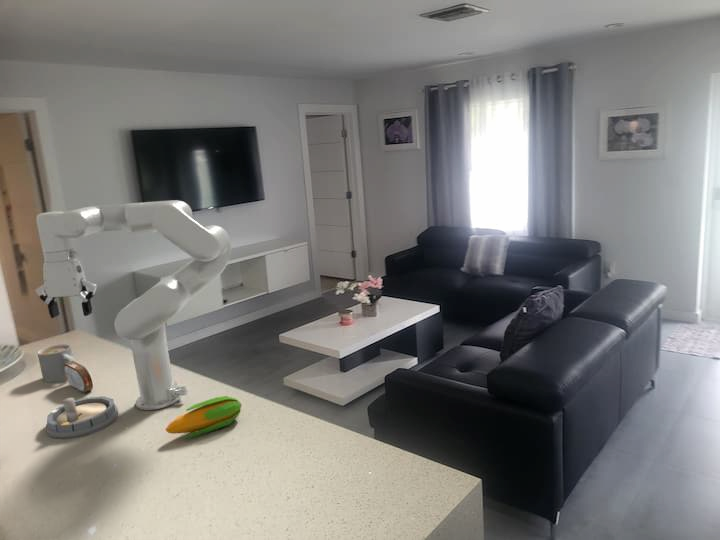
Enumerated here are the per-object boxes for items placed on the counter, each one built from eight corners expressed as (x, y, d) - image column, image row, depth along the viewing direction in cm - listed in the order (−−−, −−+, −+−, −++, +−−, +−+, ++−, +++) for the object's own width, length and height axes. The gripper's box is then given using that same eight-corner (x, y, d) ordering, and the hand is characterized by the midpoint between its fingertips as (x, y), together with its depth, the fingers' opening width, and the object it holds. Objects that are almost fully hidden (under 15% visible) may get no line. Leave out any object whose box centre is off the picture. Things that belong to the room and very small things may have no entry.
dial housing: (129, 405, 161) (127, 393, 161) (98, 437, 144) (95, 424, 143) (70, 408, 163) (68, 396, 162) (32, 440, 145) (29, 427, 144)
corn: (244, 394, 144) (167, 420, 134) (248, 421, 146) (172, 449, 135) (233, 387, 150) (159, 411, 140) (238, 413, 152) (164, 439, 141)
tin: (95, 392, 173) (90, 367, 171) (85, 396, 171) (80, 370, 169) (75, 381, 183) (70, 358, 181) (65, 385, 180) (60, 361, 179)
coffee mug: (38, 379, 187) (32, 351, 185) (67, 368, 195) (62, 342, 193) (56, 387, 179) (50, 358, 177) (86, 376, 187) (80, 348, 185)
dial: (75, 406, 160) (71, 384, 158) (115, 405, 158) (111, 383, 157) (47, 428, 148) (41, 404, 146) (90, 427, 146) (85, 403, 145)
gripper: (96, 251, 155) (107, 309, 159) (38, 255, 156) (50, 313, 160) (82, 257, 148) (94, 317, 152) (21, 261, 149) (34, 321, 153)
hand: (71, 315), depth 156 cm, fingers open, 9 cm apart
